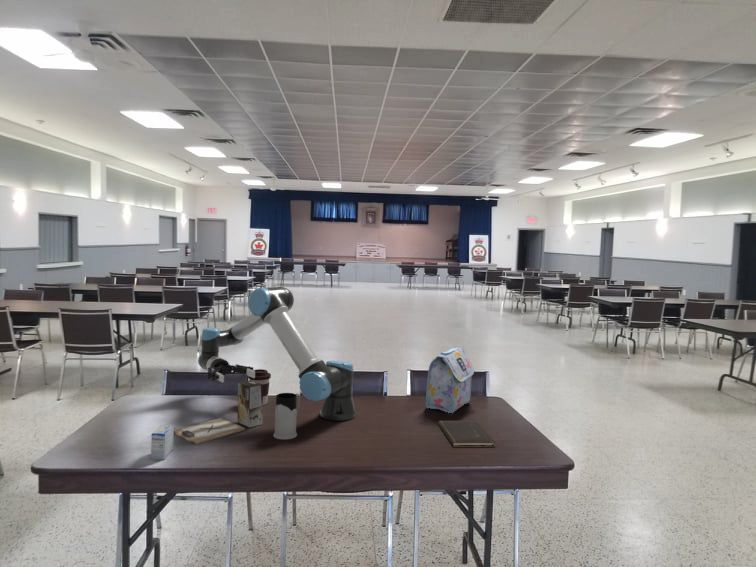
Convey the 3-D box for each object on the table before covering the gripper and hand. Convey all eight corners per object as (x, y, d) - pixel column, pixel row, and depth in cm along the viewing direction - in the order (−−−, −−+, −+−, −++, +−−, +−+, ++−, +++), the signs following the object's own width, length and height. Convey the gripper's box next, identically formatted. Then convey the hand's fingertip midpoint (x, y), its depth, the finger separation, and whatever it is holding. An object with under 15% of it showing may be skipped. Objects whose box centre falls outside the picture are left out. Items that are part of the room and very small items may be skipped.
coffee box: (263, 424, 188) (264, 384, 187) (248, 428, 183) (250, 387, 182) (250, 418, 194) (251, 379, 193) (236, 421, 189) (237, 382, 188)
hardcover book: (475, 426, 197) (476, 420, 197) (495, 448, 174) (495, 441, 174) (438, 426, 195) (438, 420, 195) (452, 448, 172) (452, 441, 172)
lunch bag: (457, 416, 207) (460, 356, 205) (422, 408, 215) (425, 351, 214) (475, 404, 226) (478, 349, 224) (443, 397, 235) (445, 344, 233)
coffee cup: (274, 403, 215) (275, 370, 214) (258, 408, 207) (259, 374, 206) (259, 399, 220) (260, 367, 220) (242, 404, 212) (243, 371, 211)
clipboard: (244, 430, 181) (244, 425, 180) (196, 444, 165) (196, 439, 165) (220, 419, 191) (220, 415, 190) (172, 432, 175) (172, 428, 175)
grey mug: (268, 437, 174) (269, 396, 174) (288, 425, 188) (289, 387, 187) (289, 441, 172) (290, 400, 171) (308, 428, 185) (309, 390, 184)
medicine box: (159, 450, 159) (160, 424, 159) (173, 450, 160) (173, 424, 159) (150, 460, 151) (151, 433, 151) (165, 460, 152) (165, 433, 151)
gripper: (244, 371, 220) (266, 381, 204) (189, 378, 203) (208, 390, 187) (244, 355, 219) (266, 364, 203) (190, 361, 203) (209, 371, 187)
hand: (239, 377), depth 195 cm, fingers open, 13 cm apart
